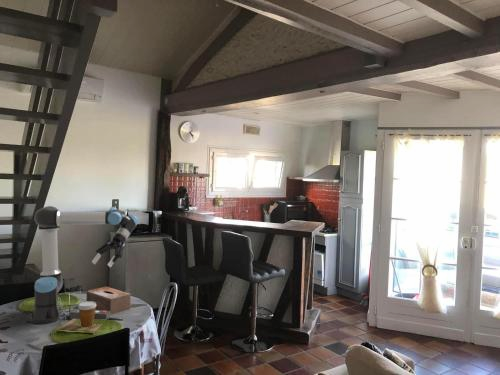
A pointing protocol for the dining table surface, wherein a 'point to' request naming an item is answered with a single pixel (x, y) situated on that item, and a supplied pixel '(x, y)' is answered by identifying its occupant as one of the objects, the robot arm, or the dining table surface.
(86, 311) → the disposable coffee cup
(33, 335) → the dining table surface
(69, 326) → the walnut board
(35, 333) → the dining table surface
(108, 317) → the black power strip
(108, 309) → the tissue box cover
